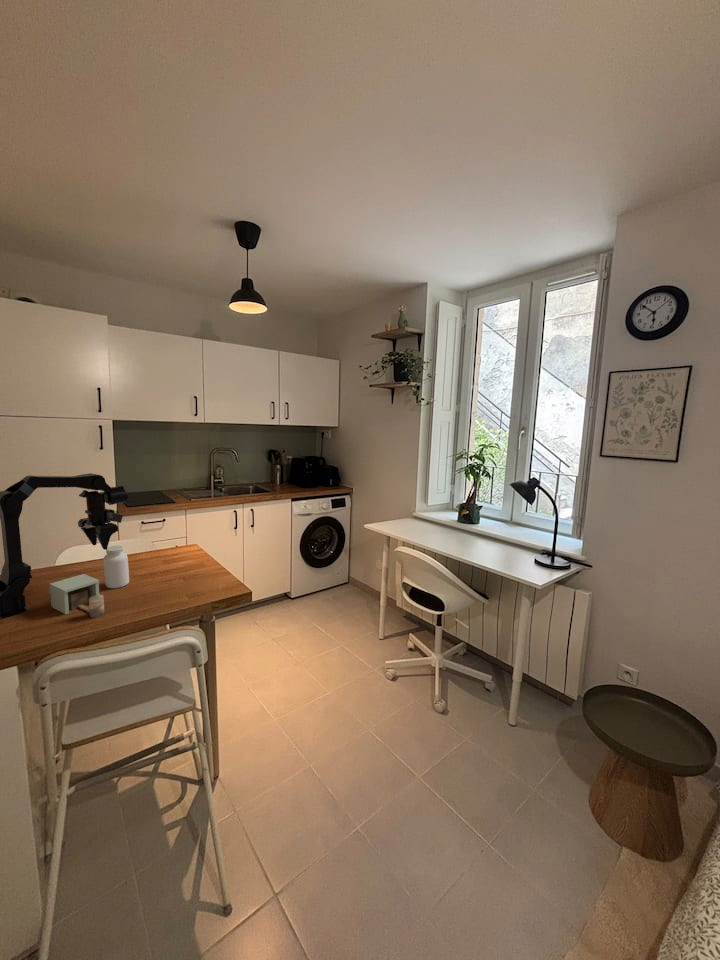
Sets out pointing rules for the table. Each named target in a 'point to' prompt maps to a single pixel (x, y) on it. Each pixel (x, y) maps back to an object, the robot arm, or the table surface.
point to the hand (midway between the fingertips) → (99, 547)
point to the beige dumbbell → (86, 602)
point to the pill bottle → (116, 567)
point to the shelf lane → (64, 586)
